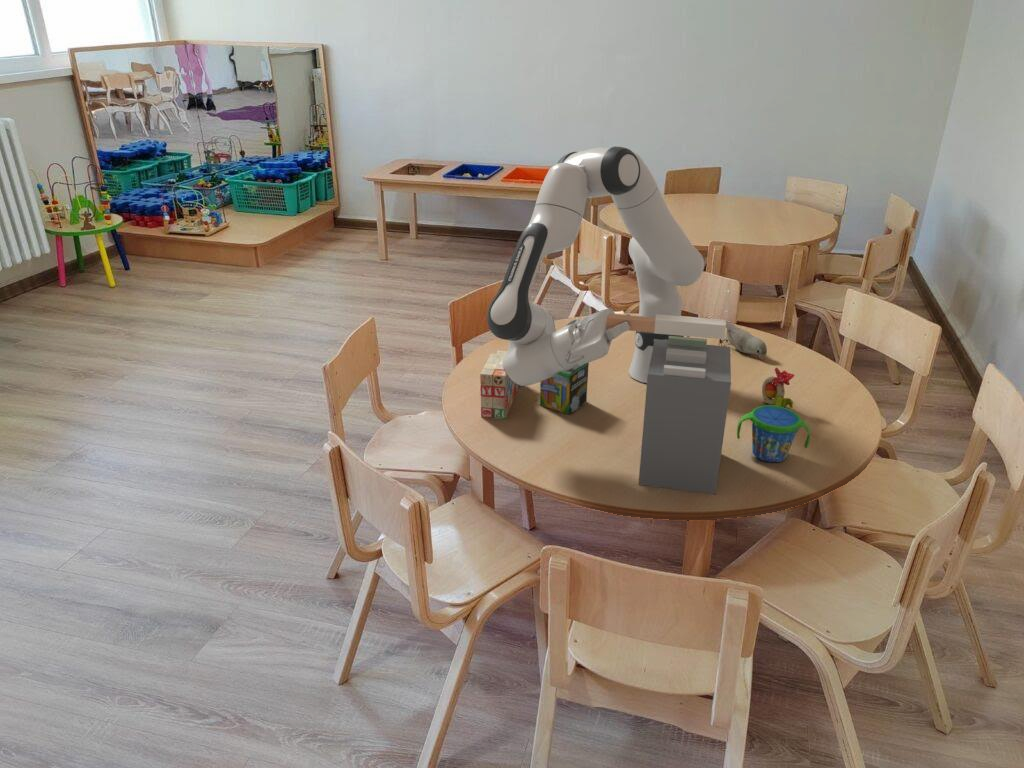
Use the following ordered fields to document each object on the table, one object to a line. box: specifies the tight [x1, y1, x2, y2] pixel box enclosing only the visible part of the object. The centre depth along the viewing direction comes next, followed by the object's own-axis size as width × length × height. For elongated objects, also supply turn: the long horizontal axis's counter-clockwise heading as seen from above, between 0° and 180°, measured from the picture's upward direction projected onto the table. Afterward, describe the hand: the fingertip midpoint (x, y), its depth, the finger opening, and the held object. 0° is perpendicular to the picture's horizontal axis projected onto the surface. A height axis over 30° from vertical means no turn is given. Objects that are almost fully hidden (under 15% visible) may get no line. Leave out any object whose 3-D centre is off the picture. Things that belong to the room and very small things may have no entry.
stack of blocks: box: [479, 349, 520, 420], centre depth 198 cm, size 21×6×12 cm, turn 170°
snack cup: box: [736, 404, 811, 463], centre depth 173 cm, size 16×10×10 cm
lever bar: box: [606, 313, 727, 340], centre depth 160 cm, size 24×3×3 cm, turn 76°
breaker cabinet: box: [638, 336, 732, 496], centre depth 164 cm, size 16×18×28 cm
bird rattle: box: [761, 366, 795, 409], centre depth 194 cm, size 6×11×9 cm
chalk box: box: [539, 362, 590, 416], centre depth 195 cm, size 9×9×15 cm
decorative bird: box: [718, 320, 768, 361], centre depth 226 cm, size 5×16×8 cm, turn 34°
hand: (630, 320), depth 161 cm, fingers closed on lever bar, 2 cm apart
